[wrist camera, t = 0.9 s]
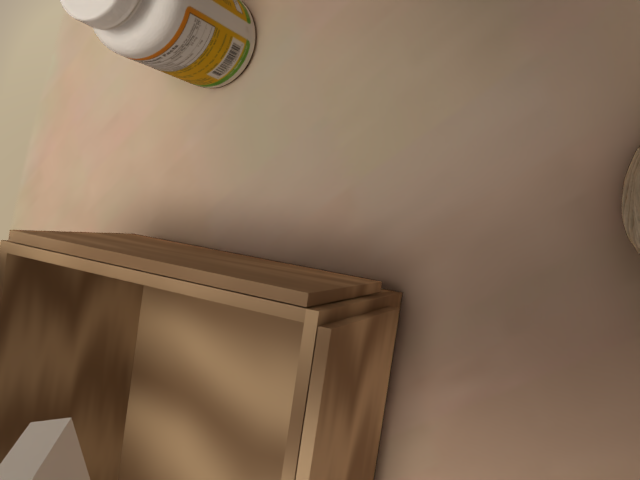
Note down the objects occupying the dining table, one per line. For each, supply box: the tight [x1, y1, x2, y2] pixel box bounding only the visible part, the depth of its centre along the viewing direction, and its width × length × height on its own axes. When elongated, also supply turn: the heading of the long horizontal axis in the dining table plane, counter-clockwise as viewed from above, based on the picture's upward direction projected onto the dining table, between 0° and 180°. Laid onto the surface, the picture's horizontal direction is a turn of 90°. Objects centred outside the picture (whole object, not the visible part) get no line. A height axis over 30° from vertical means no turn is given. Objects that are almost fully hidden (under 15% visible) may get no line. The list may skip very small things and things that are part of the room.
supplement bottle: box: [60, 0, 255, 88], centre depth 31 cm, size 5×5×10 cm
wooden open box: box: [0, 230, 402, 480], centre depth 29 cm, size 19×17×10 cm
